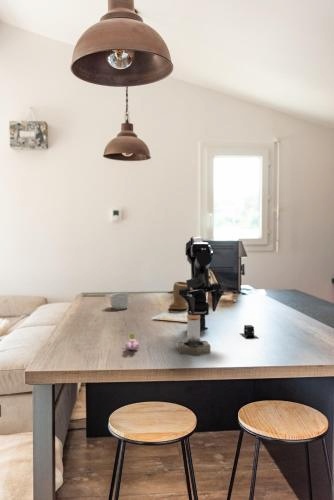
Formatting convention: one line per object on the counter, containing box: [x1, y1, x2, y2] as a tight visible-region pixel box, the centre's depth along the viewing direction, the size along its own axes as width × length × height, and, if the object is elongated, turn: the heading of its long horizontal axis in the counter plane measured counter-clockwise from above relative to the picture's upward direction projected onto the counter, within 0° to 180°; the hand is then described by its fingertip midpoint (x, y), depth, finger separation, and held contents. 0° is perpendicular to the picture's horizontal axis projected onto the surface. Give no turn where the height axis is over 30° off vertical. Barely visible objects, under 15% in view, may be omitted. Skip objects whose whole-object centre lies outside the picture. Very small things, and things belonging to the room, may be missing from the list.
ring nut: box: [177, 339, 211, 356], centre depth 151 cm, size 11×12×2 cm
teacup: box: [109, 292, 131, 311], centre depth 240 cm, size 14×11×8 cm
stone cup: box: [168, 280, 191, 310], centre depth 238 cm, size 15×12×15 cm
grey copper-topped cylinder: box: [186, 314, 201, 346], centre depth 151 cm, size 5×5×12 cm
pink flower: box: [123, 332, 142, 351], centre depth 154 cm, size 6×6×15 cm
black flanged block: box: [239, 324, 260, 340], centre depth 173 cm, size 12×7×5 cm, turn 7°
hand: (203, 312), depth 164 cm, fingers open, 9 cm apart
